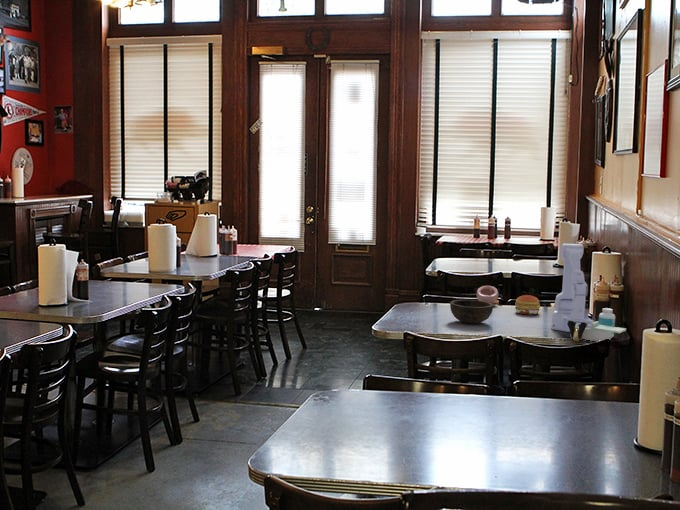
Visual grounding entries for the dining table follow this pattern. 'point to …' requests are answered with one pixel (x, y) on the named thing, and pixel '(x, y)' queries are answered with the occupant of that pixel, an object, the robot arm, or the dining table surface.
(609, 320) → the pill bottle
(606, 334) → the housing
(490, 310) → the bowl
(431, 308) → the dining table surface
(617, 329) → the lid
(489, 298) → the pink round pot
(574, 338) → the brass jaw pin
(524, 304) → the burger
